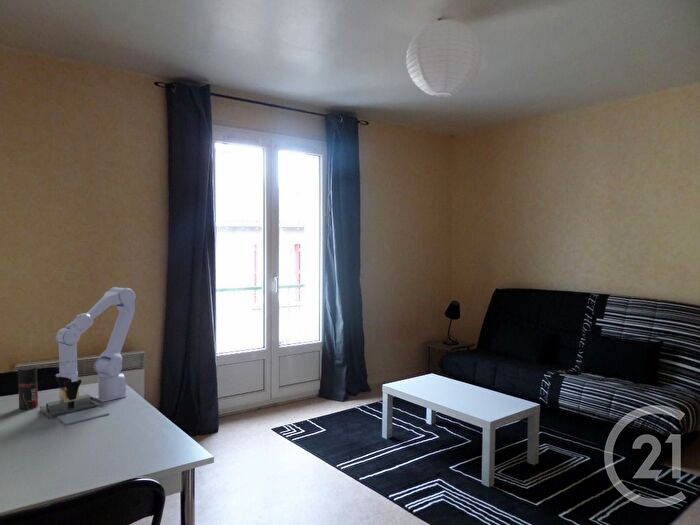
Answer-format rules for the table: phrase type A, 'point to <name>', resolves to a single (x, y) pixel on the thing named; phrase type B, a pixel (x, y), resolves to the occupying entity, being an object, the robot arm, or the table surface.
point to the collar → (66, 395)
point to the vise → (68, 406)
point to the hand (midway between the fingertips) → (69, 397)
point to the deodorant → (27, 387)
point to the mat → (82, 415)
